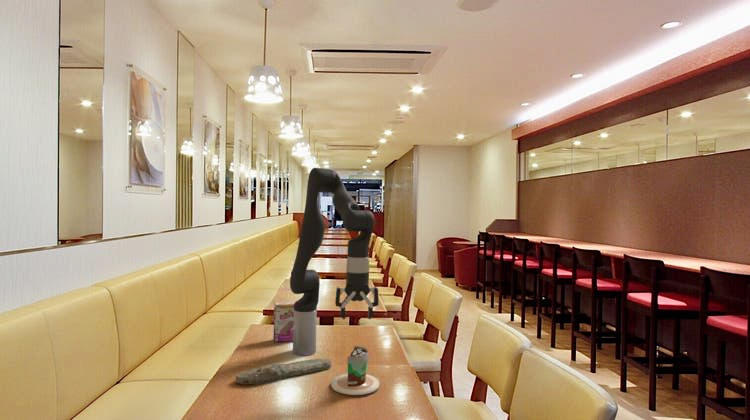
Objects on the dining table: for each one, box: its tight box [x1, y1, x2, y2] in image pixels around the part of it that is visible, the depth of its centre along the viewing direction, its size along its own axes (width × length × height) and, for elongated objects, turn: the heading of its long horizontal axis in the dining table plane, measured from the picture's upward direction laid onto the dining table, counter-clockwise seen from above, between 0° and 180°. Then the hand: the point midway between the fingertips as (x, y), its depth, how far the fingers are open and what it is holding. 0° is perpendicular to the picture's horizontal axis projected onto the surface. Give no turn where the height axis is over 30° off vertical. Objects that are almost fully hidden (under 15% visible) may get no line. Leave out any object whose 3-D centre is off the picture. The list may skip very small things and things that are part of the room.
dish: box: [330, 373, 380, 396], centre depth 147 cm, size 16×16×2 cm
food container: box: [346, 345, 370, 387], centre depth 147 cm, size 12×6×10 cm, turn 172°
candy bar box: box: [272, 301, 296, 343], centre depth 195 cm, size 11×5×16 cm, turn 106°
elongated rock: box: [235, 357, 332, 385], centre depth 156 cm, size 35×5×10 cm
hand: (356, 318), depth 148 cm, fingers open, 8 cm apart
